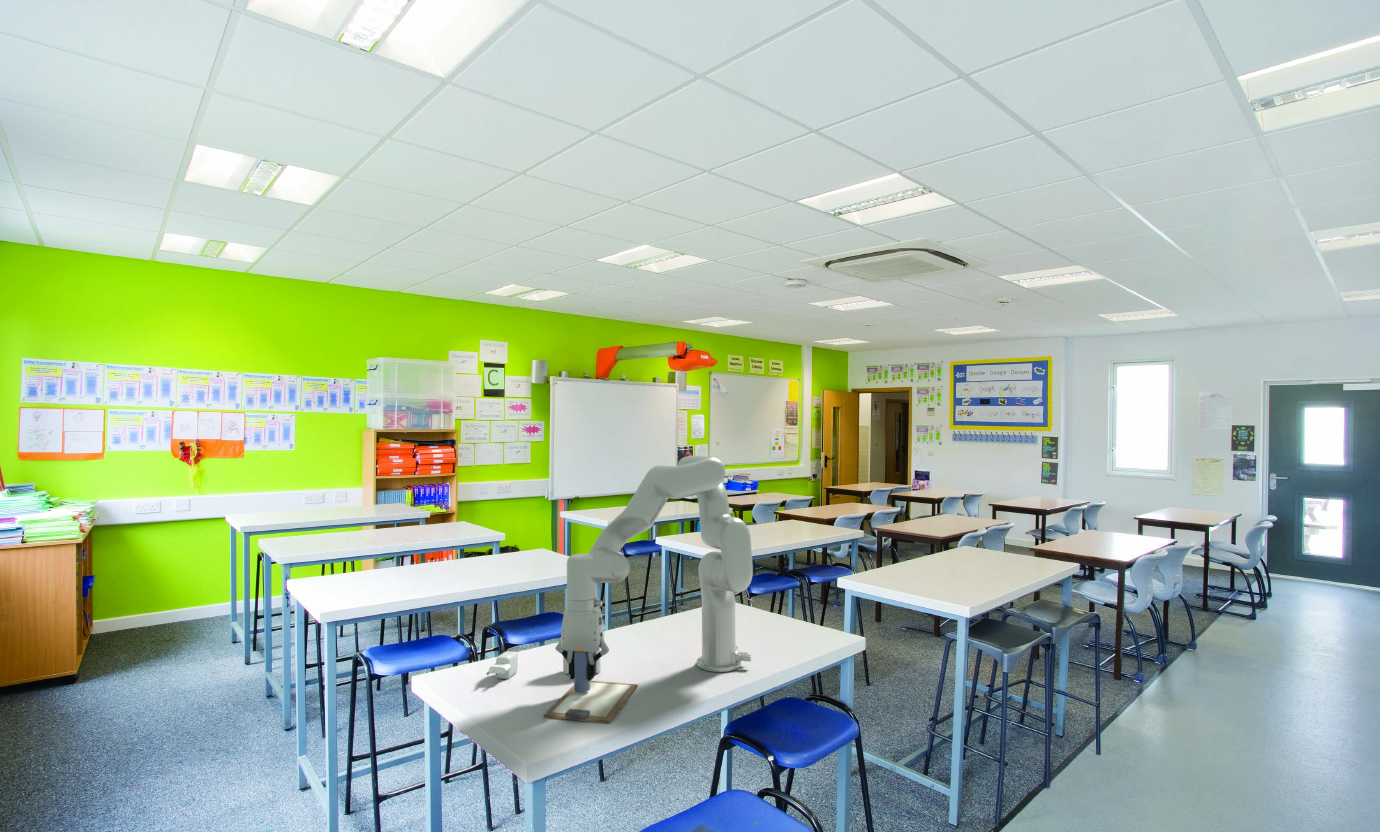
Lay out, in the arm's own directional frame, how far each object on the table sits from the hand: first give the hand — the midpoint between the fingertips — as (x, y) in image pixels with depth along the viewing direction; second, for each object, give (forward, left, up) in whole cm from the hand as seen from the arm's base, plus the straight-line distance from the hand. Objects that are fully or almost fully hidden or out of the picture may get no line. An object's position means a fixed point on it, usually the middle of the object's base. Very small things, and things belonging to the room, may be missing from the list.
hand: (582, 677), depth 163 cm
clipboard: (-4, +3, -4) cm, 7 cm away
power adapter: (+25, -6, -5) cm, 26 cm away
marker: (0, 0, -3) cm, 3 cm away
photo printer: (+6, -15, -5) cm, 17 cm away
